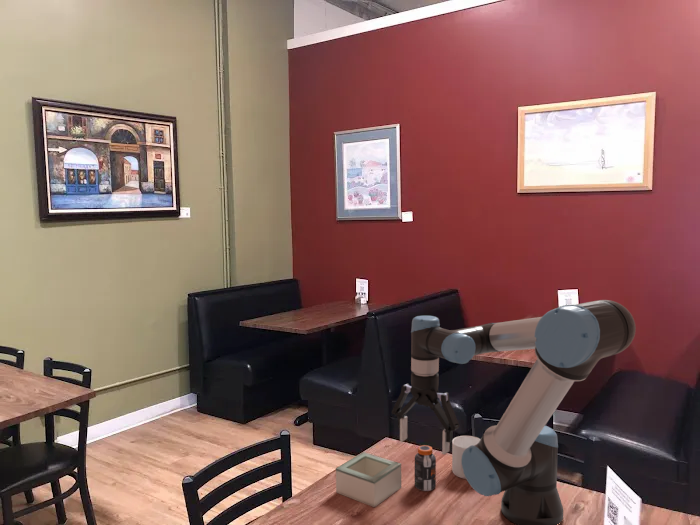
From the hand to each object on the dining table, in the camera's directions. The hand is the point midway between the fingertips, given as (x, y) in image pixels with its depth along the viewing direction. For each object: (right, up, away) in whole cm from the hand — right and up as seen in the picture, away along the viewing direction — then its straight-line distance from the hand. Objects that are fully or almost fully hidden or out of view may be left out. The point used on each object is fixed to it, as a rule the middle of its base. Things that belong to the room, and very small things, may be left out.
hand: (424, 445), depth 160 cm
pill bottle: (0, -12, +1) cm, 12 cm away
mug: (+14, -11, +11) cm, 21 cm away
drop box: (-15, -12, -1) cm, 20 cm away
